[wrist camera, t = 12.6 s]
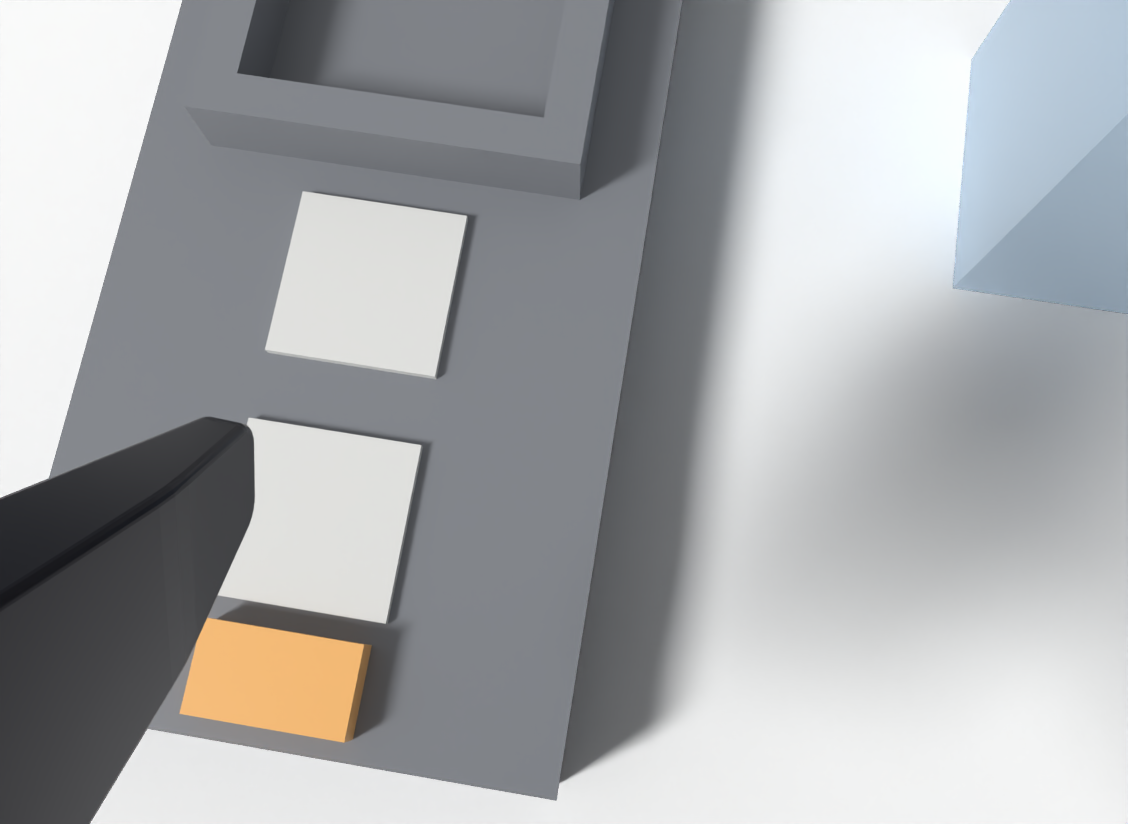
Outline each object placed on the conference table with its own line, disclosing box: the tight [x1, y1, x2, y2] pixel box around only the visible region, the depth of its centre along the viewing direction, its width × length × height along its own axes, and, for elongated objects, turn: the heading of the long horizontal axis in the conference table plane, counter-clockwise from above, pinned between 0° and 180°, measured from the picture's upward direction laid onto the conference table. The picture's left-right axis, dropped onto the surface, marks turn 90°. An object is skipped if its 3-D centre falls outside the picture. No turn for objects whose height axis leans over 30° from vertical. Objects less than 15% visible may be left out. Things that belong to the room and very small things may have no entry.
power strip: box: [49, 0, 683, 800], centre depth 21 cm, size 20×10×4 cm, turn 171°
